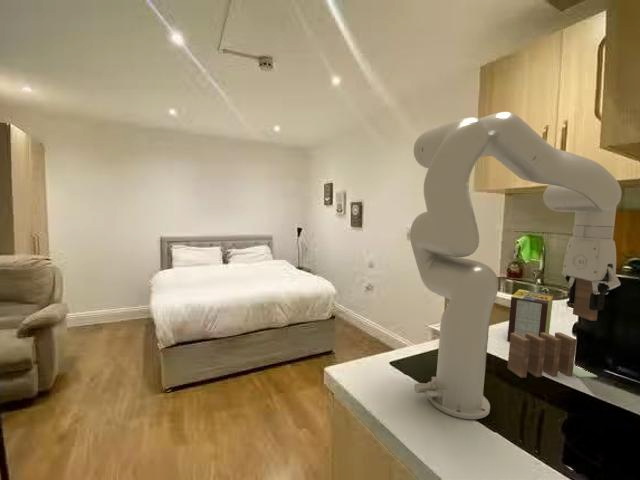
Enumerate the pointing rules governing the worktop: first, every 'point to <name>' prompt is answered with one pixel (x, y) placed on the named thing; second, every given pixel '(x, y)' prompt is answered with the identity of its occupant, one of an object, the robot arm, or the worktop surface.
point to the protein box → (530, 313)
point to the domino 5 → (584, 300)
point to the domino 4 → (566, 354)
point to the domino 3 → (551, 354)
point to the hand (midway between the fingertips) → (585, 305)
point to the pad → (582, 373)
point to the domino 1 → (518, 355)
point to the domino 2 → (536, 354)
